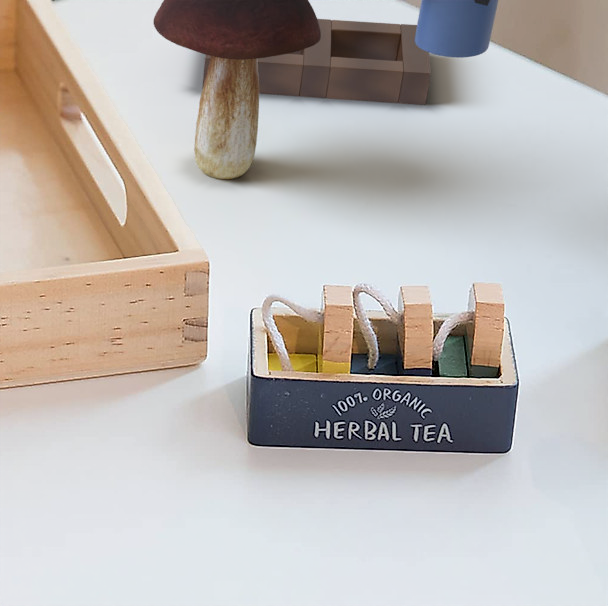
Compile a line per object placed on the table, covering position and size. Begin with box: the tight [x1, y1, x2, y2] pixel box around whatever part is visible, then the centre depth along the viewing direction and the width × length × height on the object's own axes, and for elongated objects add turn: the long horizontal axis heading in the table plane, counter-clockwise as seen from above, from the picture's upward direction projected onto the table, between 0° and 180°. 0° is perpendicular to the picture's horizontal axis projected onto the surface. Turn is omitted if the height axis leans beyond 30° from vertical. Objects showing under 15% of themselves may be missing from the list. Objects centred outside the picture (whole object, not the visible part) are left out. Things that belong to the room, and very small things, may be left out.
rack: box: [201, 18, 432, 106], centre depth 119 cm, size 17×9×3 cm, turn 80°
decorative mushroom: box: [153, 0, 321, 180], centre depth 102 cm, size 11×11×15 cm
